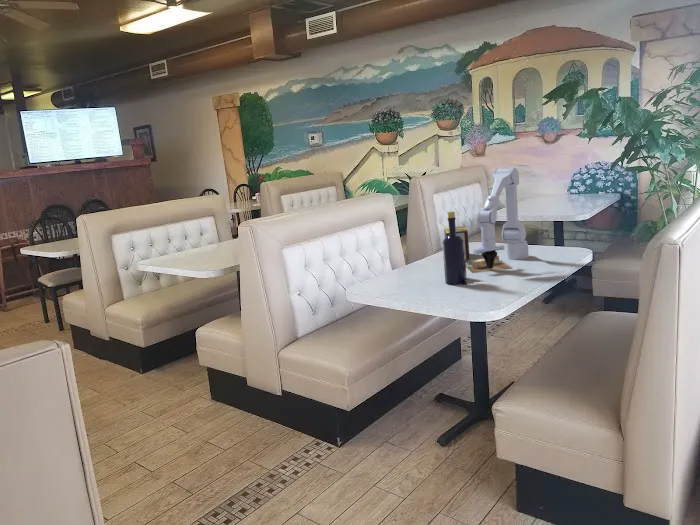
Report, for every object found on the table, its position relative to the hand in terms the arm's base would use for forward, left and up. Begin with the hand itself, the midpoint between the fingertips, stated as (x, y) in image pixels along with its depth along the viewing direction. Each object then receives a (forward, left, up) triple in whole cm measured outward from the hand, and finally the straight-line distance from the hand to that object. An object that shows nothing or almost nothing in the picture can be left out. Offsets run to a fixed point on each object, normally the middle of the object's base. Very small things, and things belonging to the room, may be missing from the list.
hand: (490, 268), depth 246 cm
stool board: (-1, -8, -2) cm, 8 cm away
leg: (-1, -9, -1) cm, 9 cm away
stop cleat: (+2, -15, -1) cm, 15 cm away
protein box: (+7, -34, -2) cm, 35 cm away
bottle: (+17, +9, -2) cm, 20 cm away
